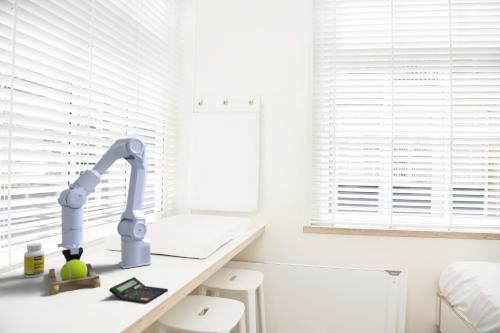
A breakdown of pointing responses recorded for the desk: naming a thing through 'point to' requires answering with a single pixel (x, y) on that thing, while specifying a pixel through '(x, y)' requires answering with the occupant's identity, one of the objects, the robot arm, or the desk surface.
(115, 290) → the calculator
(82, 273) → the tennis ball
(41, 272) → the supplement bottle
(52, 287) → the level stand
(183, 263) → the desk surface
